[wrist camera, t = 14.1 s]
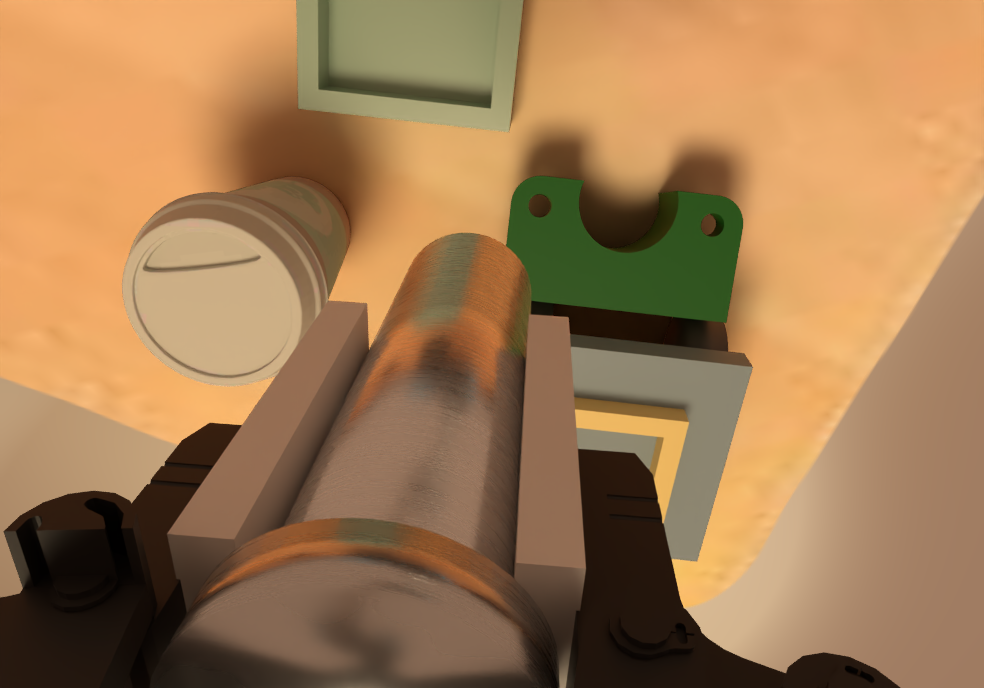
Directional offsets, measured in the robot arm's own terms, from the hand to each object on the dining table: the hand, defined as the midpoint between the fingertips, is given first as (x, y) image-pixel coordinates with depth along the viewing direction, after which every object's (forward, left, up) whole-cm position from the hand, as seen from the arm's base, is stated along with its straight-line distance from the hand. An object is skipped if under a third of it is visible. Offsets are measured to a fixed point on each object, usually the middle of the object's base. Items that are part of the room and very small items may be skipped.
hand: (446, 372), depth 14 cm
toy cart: (+13, +7, -26) cm, 30 cm away
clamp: (+4, +6, -26) cm, 27 cm away
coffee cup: (+5, -11, -26) cm, 29 cm away
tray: (-7, -5, -26) cm, 27 cm away
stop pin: (0, 0, -4) cm, 4 cm away
